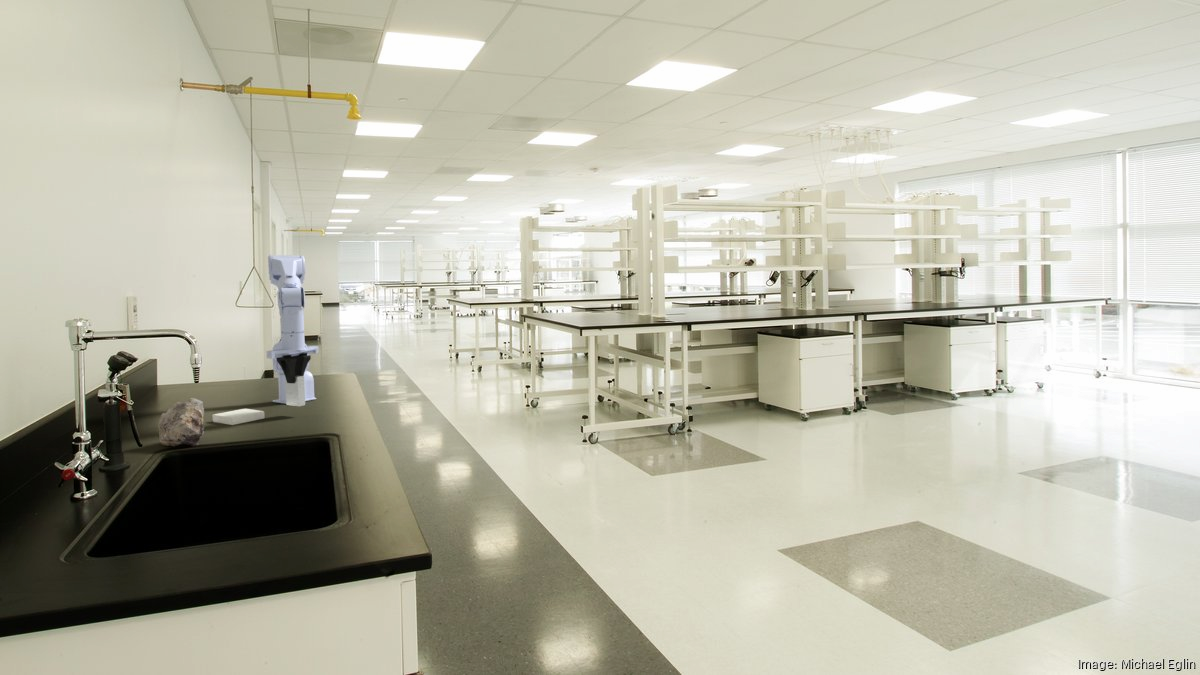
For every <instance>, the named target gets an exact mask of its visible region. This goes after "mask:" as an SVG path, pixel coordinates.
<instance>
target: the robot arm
mask: <svg viewBox="0 0 1200 675" xmlns="http://www.w3.org/2000/svg"><path fill="white" fill-rule="evenodd" d="M267 259H268V260H267V262H268V263H267V265H268V266H267V267H268V274H269V275H268V276H269V278H268V279H269V281H270V284H272V285H274V286H276V288H277V306H278V311H279V316H280V318H279V319H280V341H278V342H277V343H275V344H274V345H273V347H272V350H266V359H268V360H269V359H272V370H273V371H274V372H277V376H278V377H277V380H278V383H277V384H278V399H273V400H272V403H280V404H286V383H285V378H286V381H287V383H294V380H295V375H300V376H304V385H305V402H308V401H314V400H317V397H315V380H314V376H313V374H312V372H310V371H309V370H308V369H309V368H310V360H311V359H312V358H311V357H312V356H311V354H319V351H320V350H319V346H318V345H310V346H307V343H305V342H306V341H305V316H304V309H305V308H306V292H305V289H304V287H303V286H302V284H304V281H305V275H306V260H305V256H304V255H302V254H300V255H287V254H286V255H283V254H282V255H281V254H269V255H268V256H267Z"/></svg>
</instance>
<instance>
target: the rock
mask: <svg viewBox="0 0 1200 675" xmlns="http://www.w3.org/2000/svg"><path fill="white" fill-rule="evenodd" d="M204 415H205V408H204V402H203V401H202V400H200V399H198V398H195V397H192V398H191V397H190V398H189V399H188V400H187V401H186V402H184V401H183V402H180V401H177V402H175V403H174V404H173V405H172V406H171V407H169V408H168V409H167V411H166V412H164V413H161V415H160V417H159V419H158V420H159V421H158V426H157V427H158V435H159V436H158V438H159V442H160V444H161V445H162V446H163V445H164V446H167V447H168V446H169V447H170V446H172V447H177V446H181V445H188V446H192V447H193V446H198V445H199V444H200V442H199V441H200V438H202V436H203V435H204V432H205V431H204V430H205V425H204Z"/></svg>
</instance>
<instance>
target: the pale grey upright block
mask: <svg viewBox="0 0 1200 675" xmlns="http://www.w3.org/2000/svg"><path fill="white" fill-rule="evenodd" d="M285 383H286V405H287V406H294V407H302V406H306V401H305V385H304V376H300V375H295V380H294V383H287V381H286V378H285Z"/></svg>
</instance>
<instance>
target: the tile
mask: <svg viewBox="0 0 1200 675" xmlns="http://www.w3.org/2000/svg"><path fill="white" fill-rule="evenodd" d="M265 417H266V416H265V411H263V410H258V409H251V408H239V409H235V410H230V411H229V410H228V411H226V412H219V413H215V414H212V422H213V423H217V424H225V425H231V426H234V425H239V424H243V423H248V422H253V421H257V420H258V421H259V420H263V419H265Z"/></svg>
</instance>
